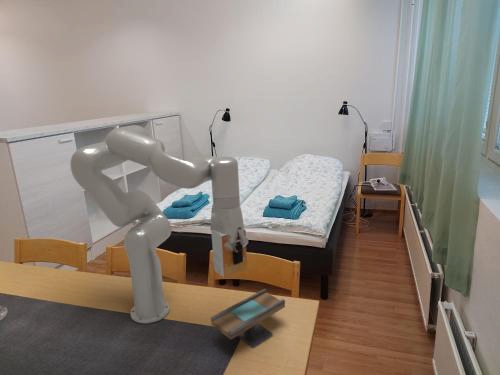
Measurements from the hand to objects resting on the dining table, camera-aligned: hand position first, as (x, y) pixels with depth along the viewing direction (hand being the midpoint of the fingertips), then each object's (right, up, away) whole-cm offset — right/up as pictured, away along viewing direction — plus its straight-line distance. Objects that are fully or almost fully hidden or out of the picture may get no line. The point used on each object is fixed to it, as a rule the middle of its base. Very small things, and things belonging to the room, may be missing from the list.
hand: (229, 258), depth 107 cm
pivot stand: (+6, -24, +5) cm, 25 cm away
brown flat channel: (+6, -18, +4) cm, 19 cm away
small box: (0, -4, +1) cm, 4 cm away
